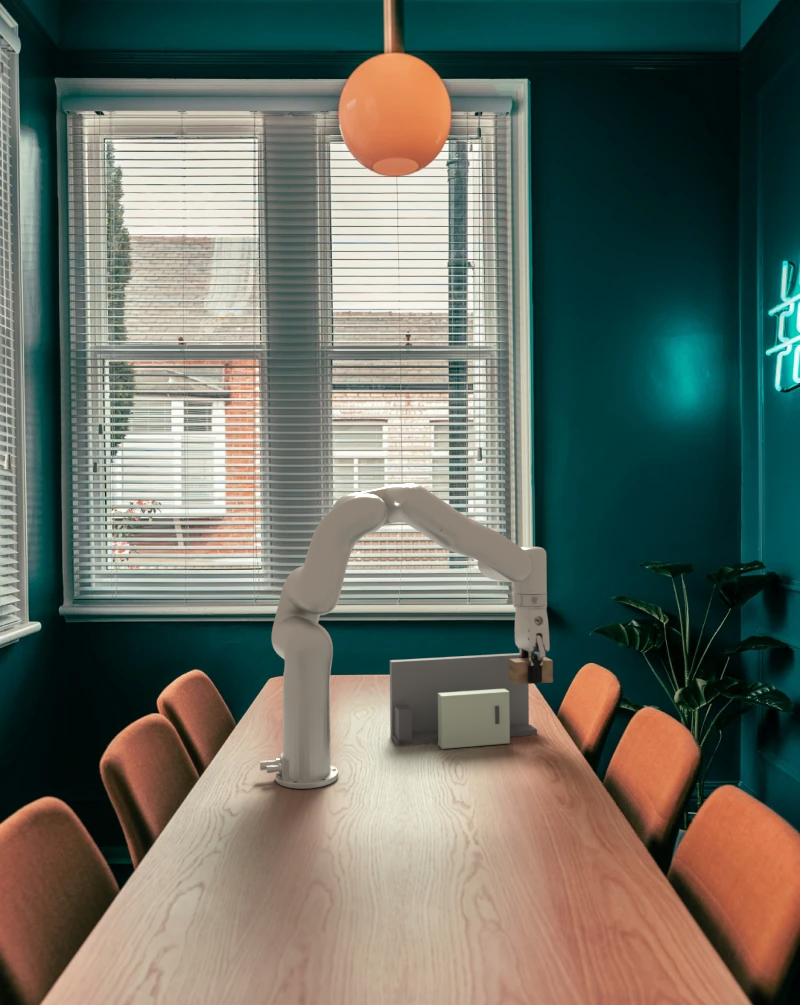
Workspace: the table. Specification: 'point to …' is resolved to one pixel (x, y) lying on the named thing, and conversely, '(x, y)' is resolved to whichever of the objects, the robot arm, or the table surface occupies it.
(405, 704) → the grey upright panel
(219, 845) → the table surface
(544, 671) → the walnut block
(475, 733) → the door
